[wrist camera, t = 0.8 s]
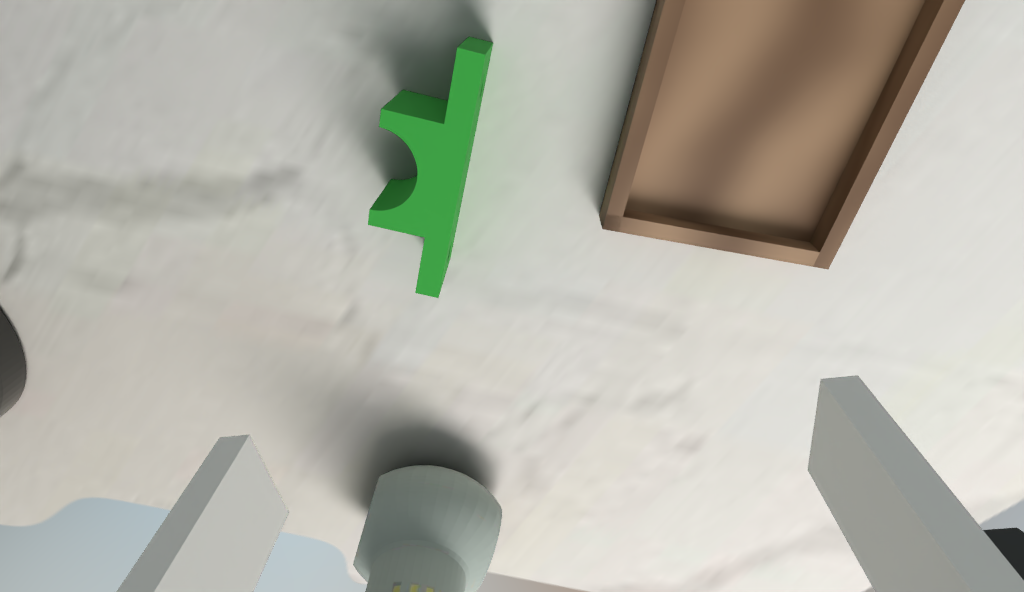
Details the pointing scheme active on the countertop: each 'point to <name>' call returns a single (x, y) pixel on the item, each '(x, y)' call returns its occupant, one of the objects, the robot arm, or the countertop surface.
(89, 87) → the countertop surface
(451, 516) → the air freshener
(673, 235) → the tray
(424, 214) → the pipe clamp
